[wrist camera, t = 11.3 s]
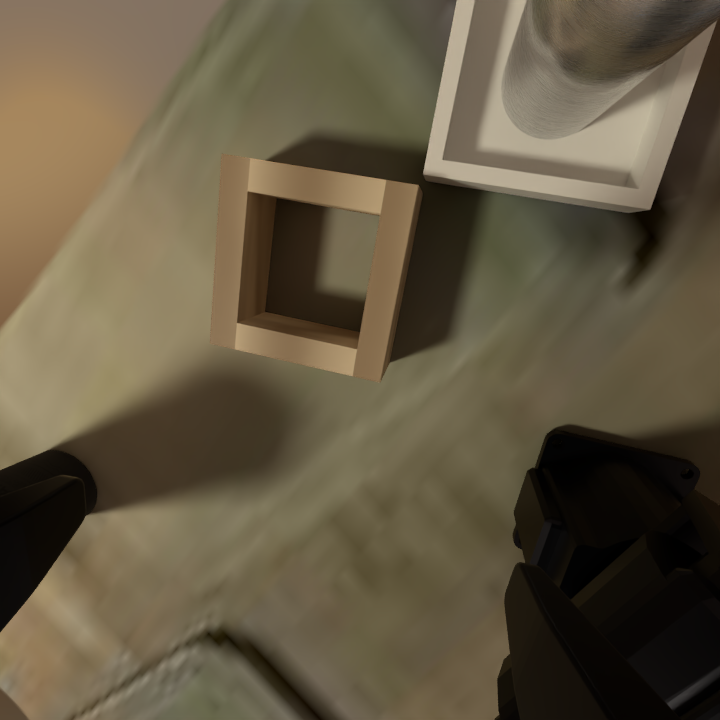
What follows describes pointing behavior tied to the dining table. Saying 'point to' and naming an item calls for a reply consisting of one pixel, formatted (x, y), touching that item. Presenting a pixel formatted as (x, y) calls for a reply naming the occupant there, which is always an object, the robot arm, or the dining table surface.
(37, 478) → the drinking cup
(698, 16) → the copper-capped peg
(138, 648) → the dining table surface
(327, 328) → the socket block
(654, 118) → the tray
